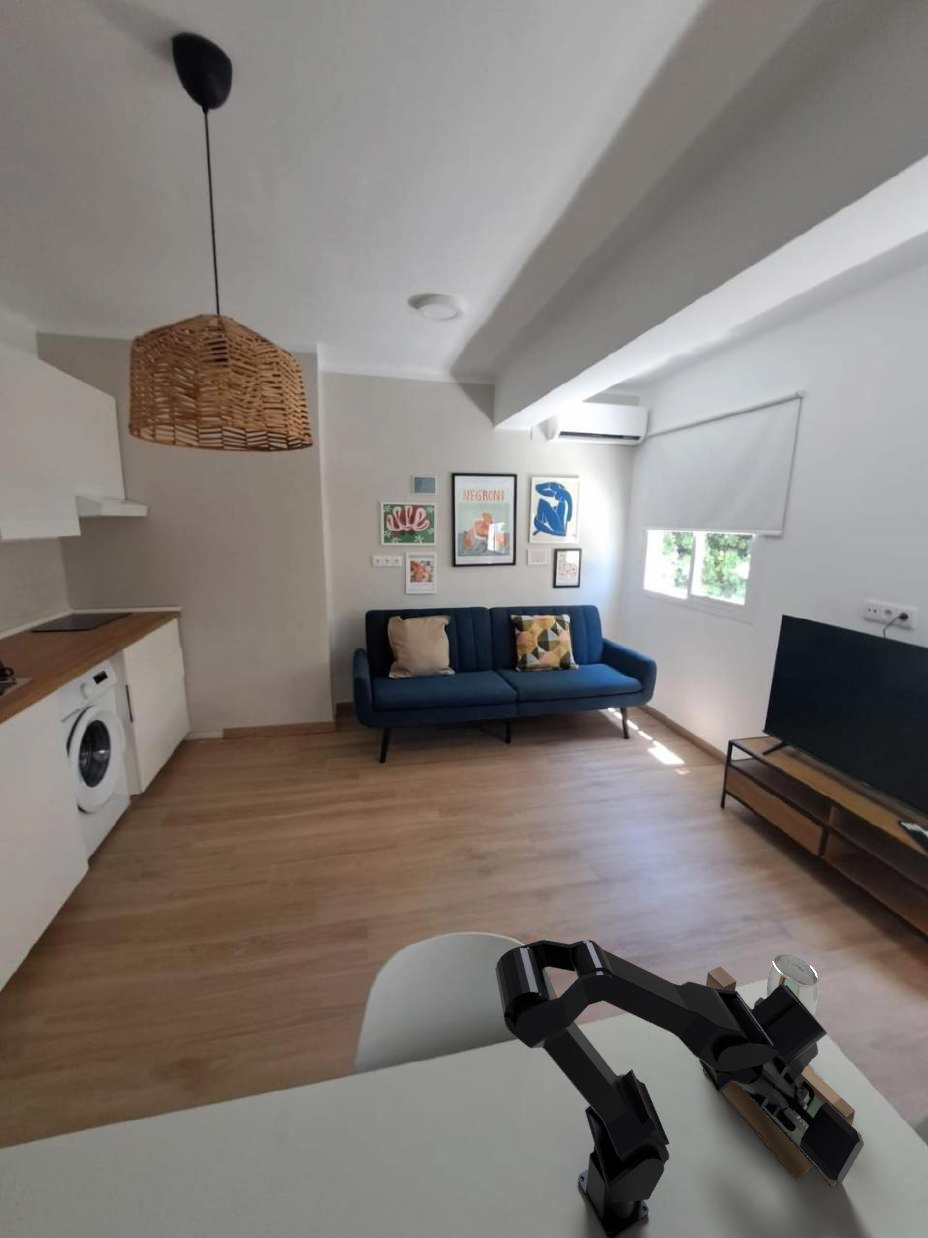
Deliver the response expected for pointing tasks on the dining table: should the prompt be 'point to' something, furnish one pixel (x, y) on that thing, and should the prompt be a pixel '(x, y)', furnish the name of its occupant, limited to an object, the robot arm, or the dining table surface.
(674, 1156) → the dining table surface
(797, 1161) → the gate frame
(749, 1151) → the dining table surface
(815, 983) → the beer glass
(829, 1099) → the board
